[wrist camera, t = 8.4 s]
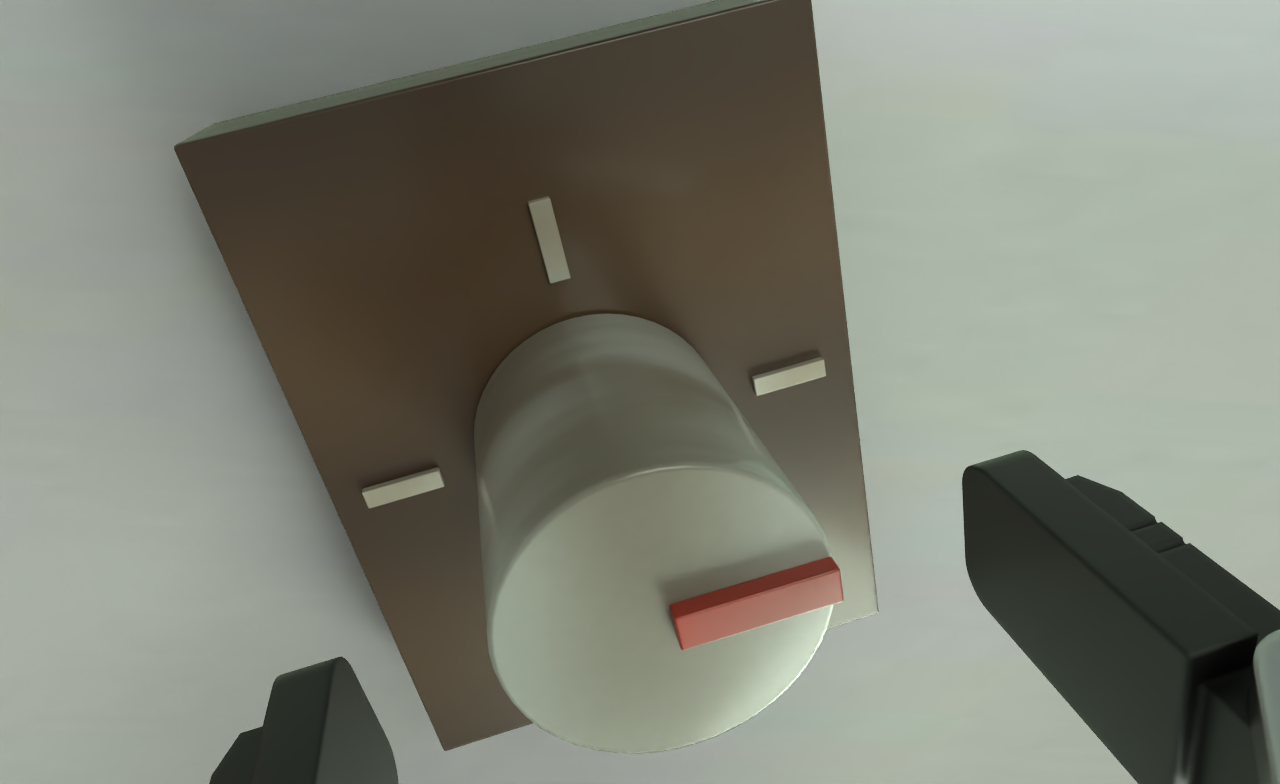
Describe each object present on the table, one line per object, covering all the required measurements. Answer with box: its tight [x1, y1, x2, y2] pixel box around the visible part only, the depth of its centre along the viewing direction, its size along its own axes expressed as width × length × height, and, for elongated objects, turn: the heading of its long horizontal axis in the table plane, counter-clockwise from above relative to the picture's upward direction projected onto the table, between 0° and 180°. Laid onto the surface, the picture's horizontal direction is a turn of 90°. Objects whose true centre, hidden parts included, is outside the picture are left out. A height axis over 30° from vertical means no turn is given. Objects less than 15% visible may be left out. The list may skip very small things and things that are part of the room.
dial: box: [474, 314, 844, 753], centre depth 13 cm, size 5×5×6 cm
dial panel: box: [174, 0, 878, 751], centre depth 17 cm, size 13×10×3 cm
